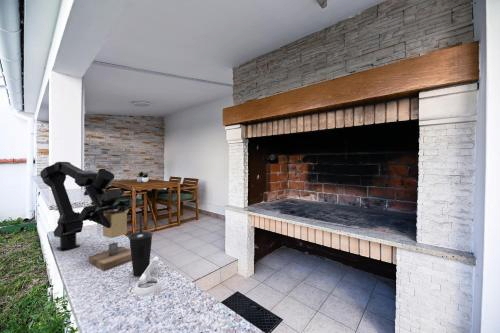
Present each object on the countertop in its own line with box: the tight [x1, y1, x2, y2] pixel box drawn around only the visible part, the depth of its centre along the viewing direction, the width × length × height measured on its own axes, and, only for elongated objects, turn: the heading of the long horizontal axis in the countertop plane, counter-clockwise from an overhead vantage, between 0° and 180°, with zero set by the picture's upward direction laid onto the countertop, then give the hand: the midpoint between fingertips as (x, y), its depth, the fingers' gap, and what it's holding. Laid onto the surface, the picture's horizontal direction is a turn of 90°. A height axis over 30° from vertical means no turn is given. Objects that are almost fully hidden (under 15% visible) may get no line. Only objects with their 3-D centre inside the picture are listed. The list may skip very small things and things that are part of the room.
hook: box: [133, 255, 162, 296], centre depth 66 cm, size 8×12×7 cm
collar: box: [102, 210, 128, 239], centre depth 88 cm, size 6×6×9 cm
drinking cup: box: [128, 215, 154, 278], centre depth 75 cm, size 8×8×20 cm
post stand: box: [88, 242, 132, 272], centre depth 86 cm, size 12×12×6 cm
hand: (117, 225), depth 87 cm, fingers closed on collar, 6 cm apart
